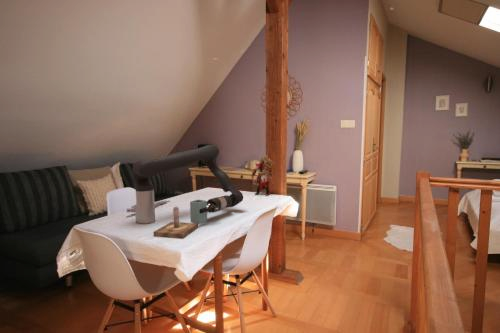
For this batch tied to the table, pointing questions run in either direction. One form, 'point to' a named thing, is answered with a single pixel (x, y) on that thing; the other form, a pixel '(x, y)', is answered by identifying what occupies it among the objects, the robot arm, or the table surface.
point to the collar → (198, 211)
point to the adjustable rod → (154, 202)
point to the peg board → (176, 233)
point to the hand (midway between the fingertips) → (195, 210)
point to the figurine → (263, 174)
